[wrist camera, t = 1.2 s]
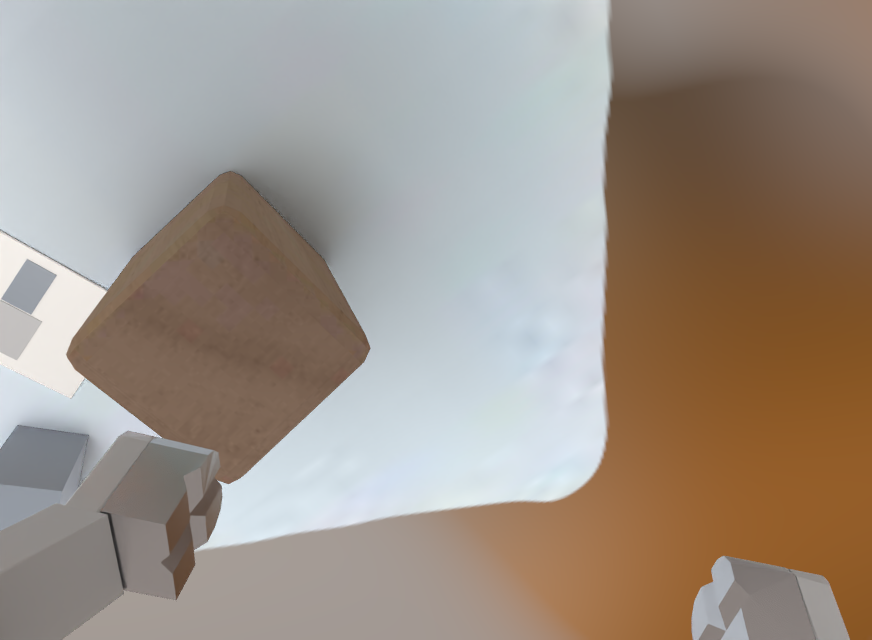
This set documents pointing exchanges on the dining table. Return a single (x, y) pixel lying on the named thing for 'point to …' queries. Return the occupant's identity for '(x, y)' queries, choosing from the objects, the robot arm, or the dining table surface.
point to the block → (222, 329)
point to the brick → (38, 471)
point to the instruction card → (41, 315)
